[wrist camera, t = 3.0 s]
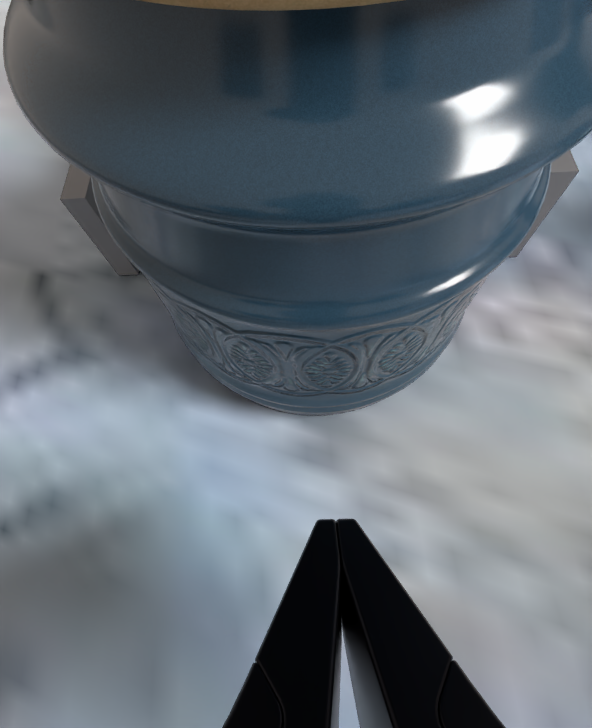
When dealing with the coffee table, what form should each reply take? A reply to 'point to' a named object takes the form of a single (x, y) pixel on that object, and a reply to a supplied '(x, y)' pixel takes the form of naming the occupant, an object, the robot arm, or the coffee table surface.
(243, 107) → the canister
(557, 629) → the coffee table surface
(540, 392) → the coffee table surface
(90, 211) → the corral
